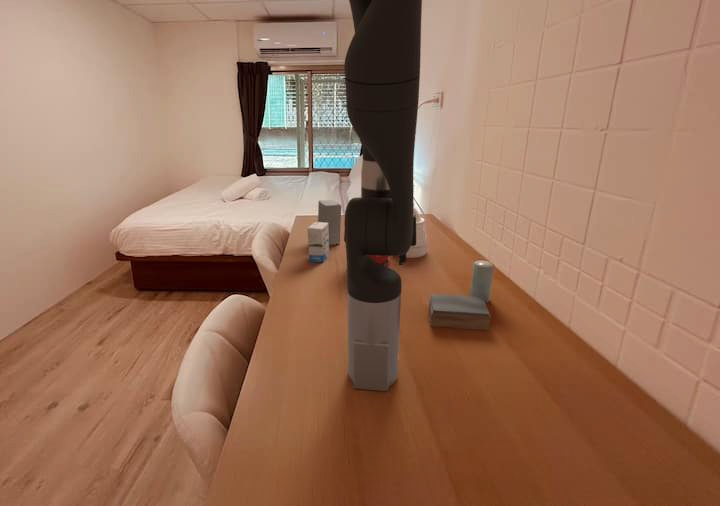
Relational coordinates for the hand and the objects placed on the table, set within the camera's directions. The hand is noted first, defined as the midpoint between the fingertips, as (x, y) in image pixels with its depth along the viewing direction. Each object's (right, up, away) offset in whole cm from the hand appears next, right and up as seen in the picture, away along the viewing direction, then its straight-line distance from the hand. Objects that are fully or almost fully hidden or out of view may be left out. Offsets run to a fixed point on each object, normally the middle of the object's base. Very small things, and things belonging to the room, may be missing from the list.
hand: (379, 262), depth 76 cm
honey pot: (+13, +2, +57) cm, 59 cm away
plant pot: (-1, -3, +43) cm, 43 cm away
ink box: (-18, 0, +51) cm, 54 cm away
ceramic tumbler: (+28, -10, +22) cm, 37 cm away
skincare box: (-16, +6, +66) cm, 68 cm away
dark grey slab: (+19, -14, +13) cm, 27 cm away
